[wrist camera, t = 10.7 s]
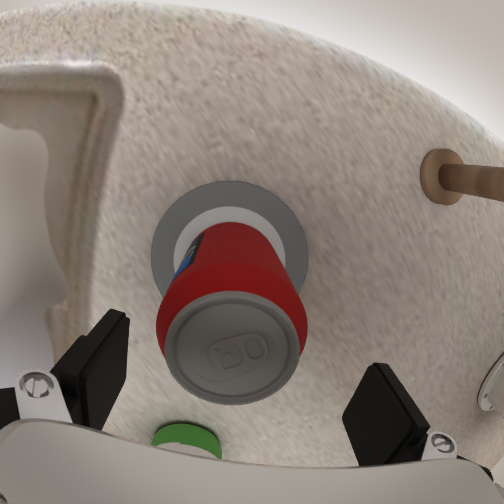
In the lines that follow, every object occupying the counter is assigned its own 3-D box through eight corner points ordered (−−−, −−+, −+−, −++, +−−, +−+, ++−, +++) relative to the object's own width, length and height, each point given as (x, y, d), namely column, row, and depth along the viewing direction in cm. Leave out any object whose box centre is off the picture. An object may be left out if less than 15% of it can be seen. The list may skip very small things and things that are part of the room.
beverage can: (173, 236, 22) (118, 306, 11) (261, 207, 22) (294, 250, 10) (204, 315, 24) (188, 427, 12) (286, 290, 24) (330, 391, 12)
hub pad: (284, 162, 22) (286, 162, 21) (318, 305, 25) (321, 309, 25) (133, 208, 22) (129, 210, 21) (183, 341, 26) (182, 347, 25)
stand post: (454, 145, 22) (545, 147, 12) (462, 197, 24) (550, 219, 13) (415, 153, 22) (510, 154, 12) (425, 209, 24) (515, 237, 13)
